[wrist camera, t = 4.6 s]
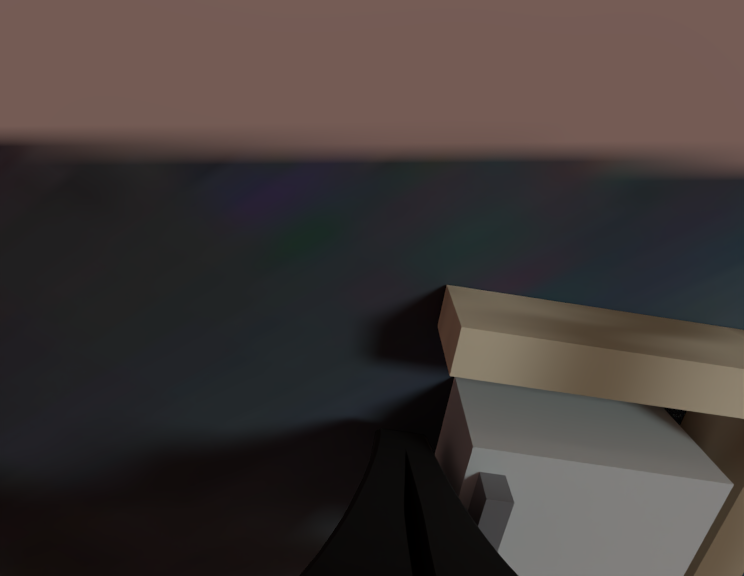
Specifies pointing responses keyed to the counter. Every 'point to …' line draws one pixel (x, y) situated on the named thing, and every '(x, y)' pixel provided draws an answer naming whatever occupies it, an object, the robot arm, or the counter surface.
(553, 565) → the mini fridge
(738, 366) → the bay
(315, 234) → the counter surface
